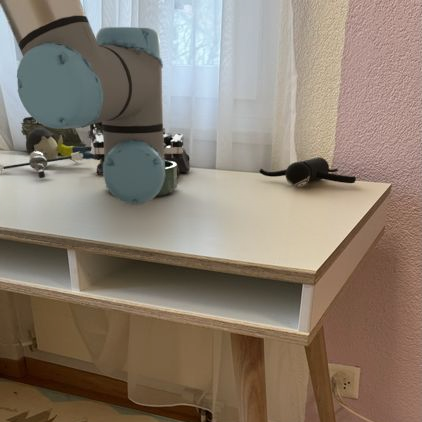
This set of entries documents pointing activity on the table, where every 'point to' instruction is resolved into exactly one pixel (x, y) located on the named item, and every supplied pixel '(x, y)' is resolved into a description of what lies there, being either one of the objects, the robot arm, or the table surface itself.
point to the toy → (53, 145)
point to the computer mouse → (181, 162)
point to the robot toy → (41, 162)
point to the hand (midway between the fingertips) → (140, 136)
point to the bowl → (169, 178)
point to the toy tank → (54, 132)
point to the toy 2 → (309, 173)
